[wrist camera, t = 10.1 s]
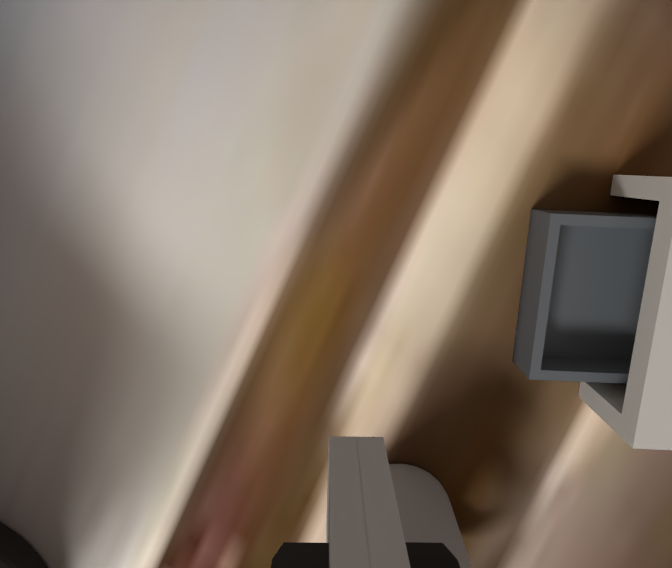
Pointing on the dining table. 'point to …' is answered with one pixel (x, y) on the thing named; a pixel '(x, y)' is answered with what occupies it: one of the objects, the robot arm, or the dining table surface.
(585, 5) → the dining table surface
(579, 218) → the grey storage tray
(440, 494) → the cup
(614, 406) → the small white side table
